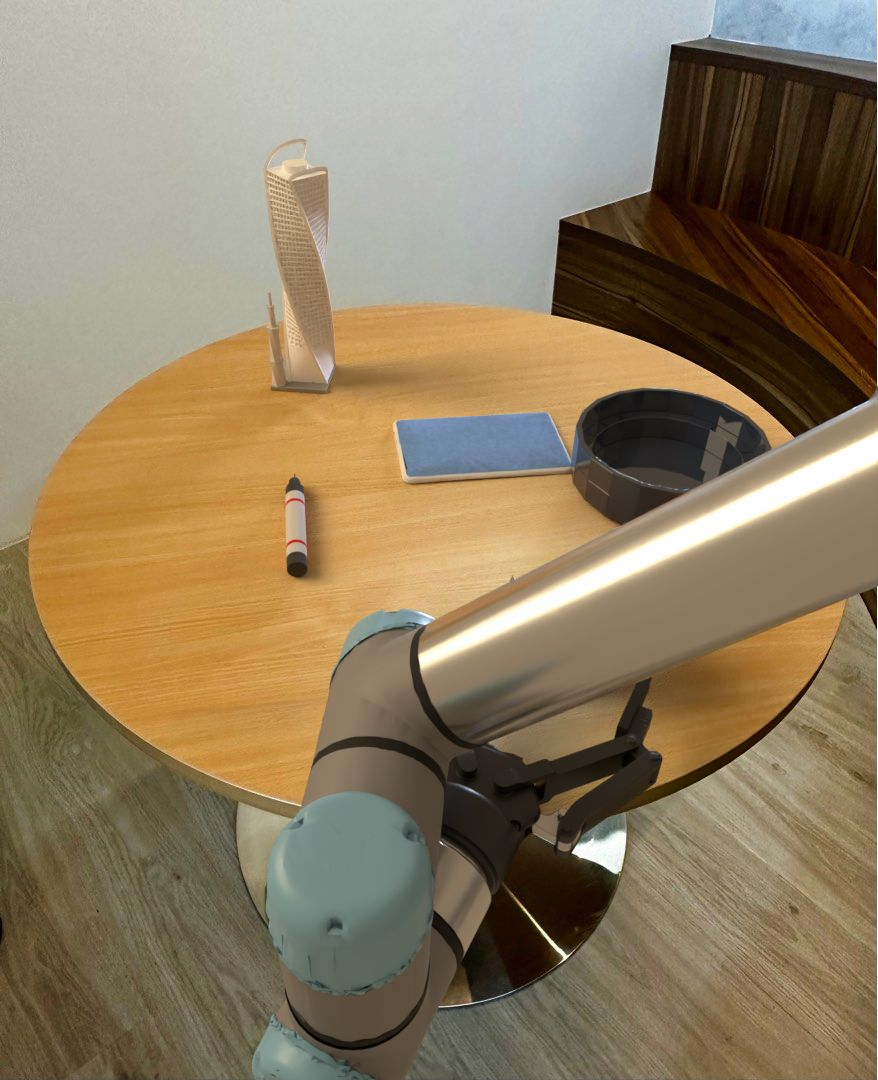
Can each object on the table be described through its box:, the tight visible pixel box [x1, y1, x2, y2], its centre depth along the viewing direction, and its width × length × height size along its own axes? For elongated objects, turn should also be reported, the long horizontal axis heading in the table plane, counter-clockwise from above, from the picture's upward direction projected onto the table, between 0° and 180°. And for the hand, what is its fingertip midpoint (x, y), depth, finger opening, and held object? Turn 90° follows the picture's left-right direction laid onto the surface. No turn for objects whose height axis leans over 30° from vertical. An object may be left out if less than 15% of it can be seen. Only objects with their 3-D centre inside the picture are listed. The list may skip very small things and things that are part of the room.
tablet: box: [392, 411, 571, 485], centre depth 102 cm, size 19×13×1 cm, turn 98°
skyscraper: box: [263, 138, 337, 395], centre depth 105 cm, size 8×8×28 cm
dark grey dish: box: [570, 387, 773, 525], centre depth 96 cm, size 20×20×6 cm
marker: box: [284, 473, 308, 578], centre depth 90 cm, size 15×2×2 cm, turn 8°
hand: (563, 647), depth 70 cm, fingers open, 13 cm apart
